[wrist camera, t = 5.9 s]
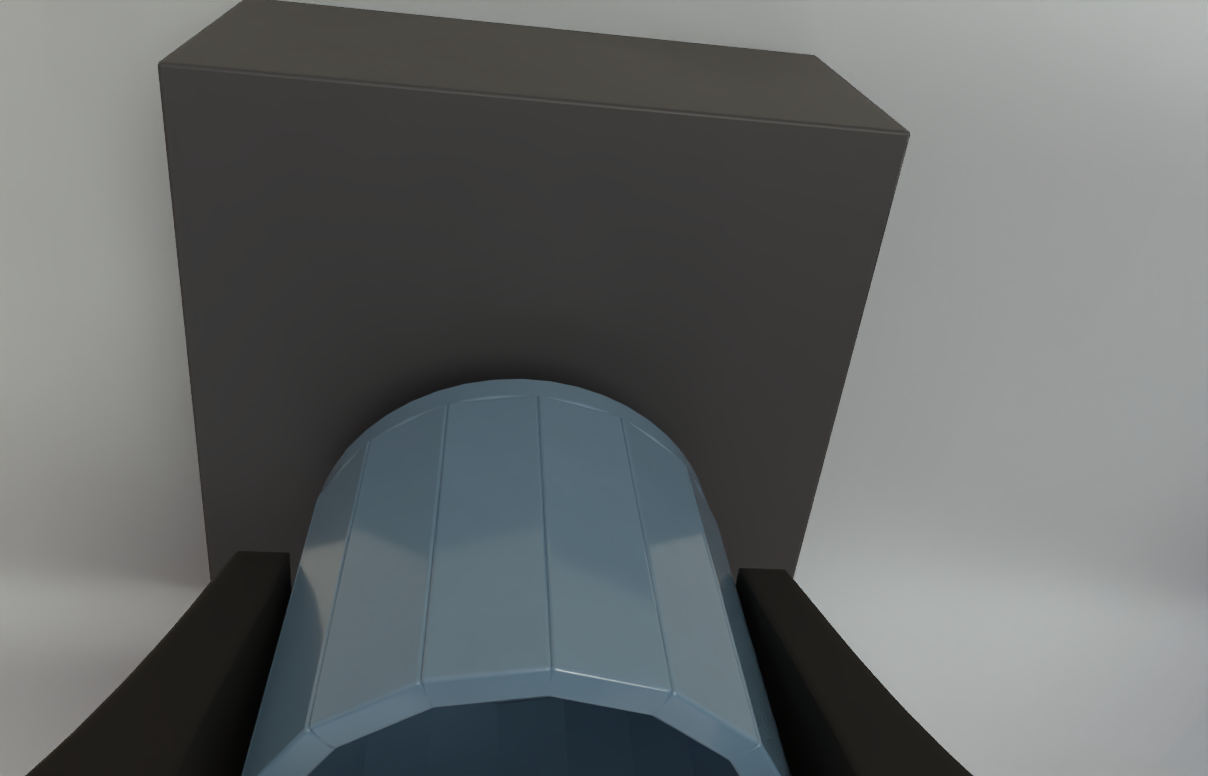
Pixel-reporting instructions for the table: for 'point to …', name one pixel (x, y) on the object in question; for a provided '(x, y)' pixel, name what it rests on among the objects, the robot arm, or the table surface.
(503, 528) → the tub
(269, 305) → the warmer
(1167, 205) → the table surface
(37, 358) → the table surface
